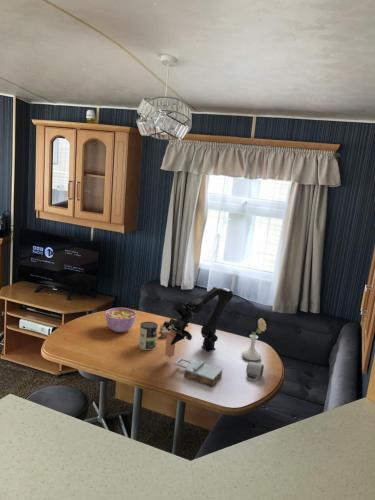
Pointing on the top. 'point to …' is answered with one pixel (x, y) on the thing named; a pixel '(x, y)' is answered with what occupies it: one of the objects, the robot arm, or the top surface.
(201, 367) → the lid
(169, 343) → the salmon brown tall block
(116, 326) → the bowl of food
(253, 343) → the flower in vase
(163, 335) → the wooden block set
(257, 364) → the ceramic mug
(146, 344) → the coffee can
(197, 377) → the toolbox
